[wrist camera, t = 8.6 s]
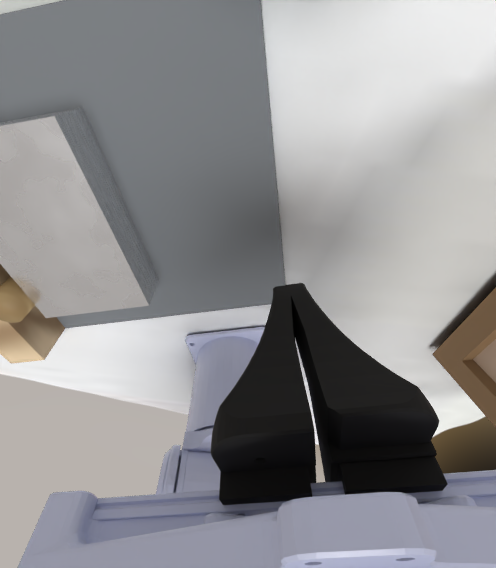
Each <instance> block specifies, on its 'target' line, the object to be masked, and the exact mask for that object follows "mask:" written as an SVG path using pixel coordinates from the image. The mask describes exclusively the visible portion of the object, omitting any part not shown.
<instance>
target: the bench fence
mask: <svg viewBox="0 0 496 568" xmlns="http://www.w3.org/2000/svg"><path fill="white" fill-rule="evenodd" d="M64 329H65V327H64V326H63V325H62V324H61V322H60V321H59V320H58V319H57V317H51V318H45V316H44V315H43V314H42V313H41V312H40V310H39V309H38V308H37V307H36V306H35V304H34V303H33V302H32V301H31V300H30V299H29V297H28V296H27V295H26V294H25V293H24V291H23V290H22V289H21V288H20V287H19V285H18V284H17V283H16V282H15V281H14V279H13V278H12V277H11V276H10V275H9V274H8V272H7V271H6V270H5V269H4V268H3V266H2V265H1V264H0V354H1V355H2V356H3V357H4V358H5V359H7V360H8V361H9V362H10V363H20V362H29V361H38V360H45V358H46V357H47V355H48V354H49V352H50V351H51V349H52V348H53V346H54V345H55V343H56V341H57V340H58V338H59V337H60V335H61V334H62V332H63V331H64Z"/></svg>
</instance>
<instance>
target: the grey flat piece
mask: <svg viewBox="0 0 496 568" xmlns="http://www.w3.org/2000/svg"><path fill="white" fill-rule="evenodd" d="M0 264H1V265H2V266H3V268H4V269H5V270H6V271H7V272H8V274H9V275H10V276H11V277H12V278H13V279H14V281H15V282H16V283H17V284H18V285H19V287H20V288H21V289H22V290H23V291H24V293H25V294H26V295H27V296H28V297H29V299H30V300H31V301H32V302H33V303H34V304H35V306H36V307H37V308H38V309H39V310H40V312H41V313H42V314H43V315H44V316H45V318H51V317H60V316H68V315H76V314H84V313H93V312H101V311H109V310H118V309H126V308H134V307H142V306H149V305H150V302H151V300H152V297H153V295H154V292H155V289H156V287H157V284H158V282H159V279H158V277H157V274H156V272H155V270H154V268H153V265H152V263H151V261H150V258H149V256H148V254H147V252H146V249H145V247H144V245H143V242H142V240H141V238H140V236H139V233H138V231H137V229H136V226H135V224H134V222H133V220H132V217H131V215H130V213H129V210H128V208H127V206H126V204H125V201H124V199H123V197H122V194H121V192H120V190H119V188H118V185H117V183H116V181H115V178H114V176H113V174H112V172H111V169H110V167H109V165H108V162H107V160H106V158H105V156H104V153H103V151H102V149H101V146H100V144H99V142H98V140H97V137H96V135H95V133H94V130H93V128H92V126H91V124H90V121H89V119H88V117H87V114H86V112H85V110H84V108H83V107H81V108H76V109H71V110H65V111H60V112H55V113H49V114H44V115H38V116H33V117H28V118H22V119H17V120H11V121H6V122H1V123H0Z"/></svg>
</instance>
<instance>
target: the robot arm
mask: <svg viewBox="0 0 496 568" xmlns="http://www.w3.org/2000/svg"><path fill="white" fill-rule="evenodd" d="M295 338H296V342H297V346H298V349H299V353H300V356H301V360H302V363H303V367H304V370H305V374H306V377H307V381H308V386H309V391H310V396H311V402H312V407H313V413H314V418H315V424H316V429H317V435H318V441H319V446H320V451H321V458H322V464H323V469H324V476H325V482H323V483H316V469H315V465H316V457H315V435H314V426H313V421H312V416H311V411H310V407H309V403H308V399H307V394H306V390H305V386H304V381H303V377H302V372H301V368H300V363H299V358H298V353H297V348H296V344H295ZM185 341H186V343H187V346H188V348H189V350H190V353H191V355H192V357H193V359H194V362H195V364H196V371H195V377H194V384H193V390H192V397H191V403H190V409H189V416H188V422H187V429H186V432H185V437H184V442H183V447H182V450H180V445H173V446H172V448H171V449H170V450H168V451H167V452H166V453H165V455H164V459H163V463H162V467H161V472H160V476H159V481H158V486H157V491H156V494H154V495H139V496H125V497H111V498H97V497H96V496H95V495H94V494H92V493H90V492H87V491H69V492H55V493H52V494H50V496H49V498H48V500H47V503H46V505H45V507H44V509H43V511H42V514H41V516H40V518H39V520H38V523H37V525H36V527H35V529H34V532H33V534H32V536H31V538H30V541H29V543H28V545H27V547H26V549H25V552H24V554H23V556H22V558H21V561H20V563H19V565H18V567H17V568H496V470H491V471H476V472H462V473H448V474H443V473H442V471H441V469H440V467H439V464H438V462H437V460H436V458H435V456H436V450H435V448H434V446H433V444H432V442H431V439H432V437H433V435H434V433H435V431H436V429H437V427H438V424H439V419H438V417H437V415H436V413H435V411H434V409H433V407H432V406H431V404H430V403H429V401H428V400H427V399H426V397H425V396H424V394H423V393H422V392H421V390H420V389H419V388H418V387H417V386H415V385H414V384H412V383H410V382H408V381H407V380H405V379H403V378H402V377H400V376H398V375H397V374H395V373H393V372H392V371H390V370H389V369H387V368H386V367H384V366H383V365H381V364H380V363H379V362H377V361H376V360H375V359H373V358H372V357H371V356H369V355H368V354H367V353H365V352H364V351H363V350H361V349H360V348H359V347H358V346H357V345H355V344H354V343H353V342H352V341H351V340H350V339H349V338H348V337H346V336H345V335H344V334H343V333H342V332H341V331H340V330H339V329H338V328H337V327H336V326H335V325H334V324H333V323H332V321H331V320H330V319H329V318H328V317H327V316H326V315H325V313H324V312H323V311H322V310H321V309H320V307H319V306H318V305H317V304H316V302H315V301H314V299H313V298H312V297H311V295H310V294H309V292H308V290H307V289H306V287H305V285H304V284H303V283H298V284H291V285H283V286H276V287H274V288H273V299H272V304H271V309H270V313H269V316H268V320H267V323H266V326H265V327H257V328H248V329H239V330H230V331H221V332H212V333H203V334H194V335H188V336H186V339H185Z"/></svg>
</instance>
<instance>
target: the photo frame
mask: <svg viewBox="0 0 496 568" xmlns="http://www.w3.org/2000/svg"><path fill="white" fill-rule="evenodd" d="M433 356H434V357H435V358H436V359H437V360H438V361H439V363H440V364H441V365H442V366H443V367H444V368H445V369H446V371H447V372H448V373H449V374H450V375H451V376H452V378H453V379H454V380H455V381H456V382H457V383H458V384H459V386H460V387H461V388H462V389H463V390H464V391H465V393H466V394H467V395H468V396H469V397H470V398H471V400H472V401H473V402H474V403H475V404H476V405H477V406H478V408H479V409H480V410H481V411H482V412H483V413H484V415H485V416H486V417H487V418H488V419H489V420H490V421H491V423H492V424H493V425H494V426H495V427H496V288H495V289H494V290H493V291H492V292H491V293H490V294H489V295H488V296H487V297H486V298H485V299H484V300H483V301H482V302H481V303H480V304H479V306H478V307H477V308H476V309H475V310H474V311H473V312H472V313H471V314H470V315H469V316H468V317H467V318H466V319H465V320H464V321H463V322H462V323H461V325H460V326H459V327H458V328H457V329H456V330H455V331H454V332H453V333H452V334H451V335H450V336H449V337H448V338H447V339H446V340H445V341H444V343H443V344H442V345H441V346H440V347H439V348H438V349H437V350H436V351H435V352H434V353H433Z"/></svg>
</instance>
